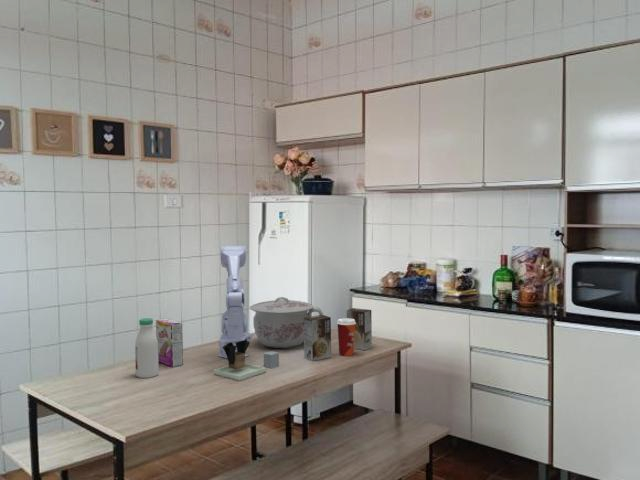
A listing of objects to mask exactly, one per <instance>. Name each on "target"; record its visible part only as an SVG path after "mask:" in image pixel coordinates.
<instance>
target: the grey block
mask: <svg viewBox="0 0 640 480" xmlns="http://www.w3.org/2000/svg"><path fill="white" fill-rule="evenodd" d="M279 366H280V353H279V352H276V351H272V350H271V351H268V352H264V353H263V367H265V368H266V369H267V368H269V369H275V368H277V367H279Z"/></svg>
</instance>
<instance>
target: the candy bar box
mask: <svg viewBox="0 0 640 480" xmlns="http://www.w3.org/2000/svg"><path fill="white" fill-rule="evenodd" d="M155 335H156V337H157V341H158V364H162V365H166V366H169V367H171V368H177V367H179V366H183V365H184V355H183V354H184V353H183V352H184V350H183V348H184V346H183V343H184V341H183V322H182V321H178V320H174V319H169V318H160V319H156V320H155Z"/></svg>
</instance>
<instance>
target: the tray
mask: <svg viewBox="0 0 640 480" xmlns="http://www.w3.org/2000/svg"><path fill="white" fill-rule="evenodd" d="M266 372H267V367H264V366H260V365H255V364H251V363H248V362H245V367H243V368H240V369H237V370H236V369H232V368H229V364H228V365H225V366H221V367H219V368H214V369H213V375H215V376H218V377H223V378H227V379H230V380H234V381H237V382H241V381H244V380H247V379H251V378H253V377H257V376H259V375H262V374H266Z"/></svg>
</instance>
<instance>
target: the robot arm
mask: <svg viewBox="0 0 640 480" xmlns="http://www.w3.org/2000/svg"><path fill="white" fill-rule="evenodd" d="M246 260H247V247H246V246H245V245H226V246H225V245H224V246H223V245H221V246H220V265H221V267H222V268H225V269H226V272H227V278H226V293H225V306H226V310H225V311H224V312H223V313H222V314H221V333H222V334H221V335H220V338H219V340H218V347H219V354H217V357H220V358H225V359H227V362H228V365H229V364H234V361H235V352H241V353H245V358H246V357H249V354H247V353H246V352H247V349H248V348H249V346H250V341H249V340H253V333H249V332H248V333H247V331H248V324H247V314H246V312H244V307H245V304H246V303H245V302H246V301H245V300H246V298H245V291H244V288H243V287H244V286H243V278H242V277H241V276H240V269H241V268H242V267H245V264H246Z"/></svg>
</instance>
